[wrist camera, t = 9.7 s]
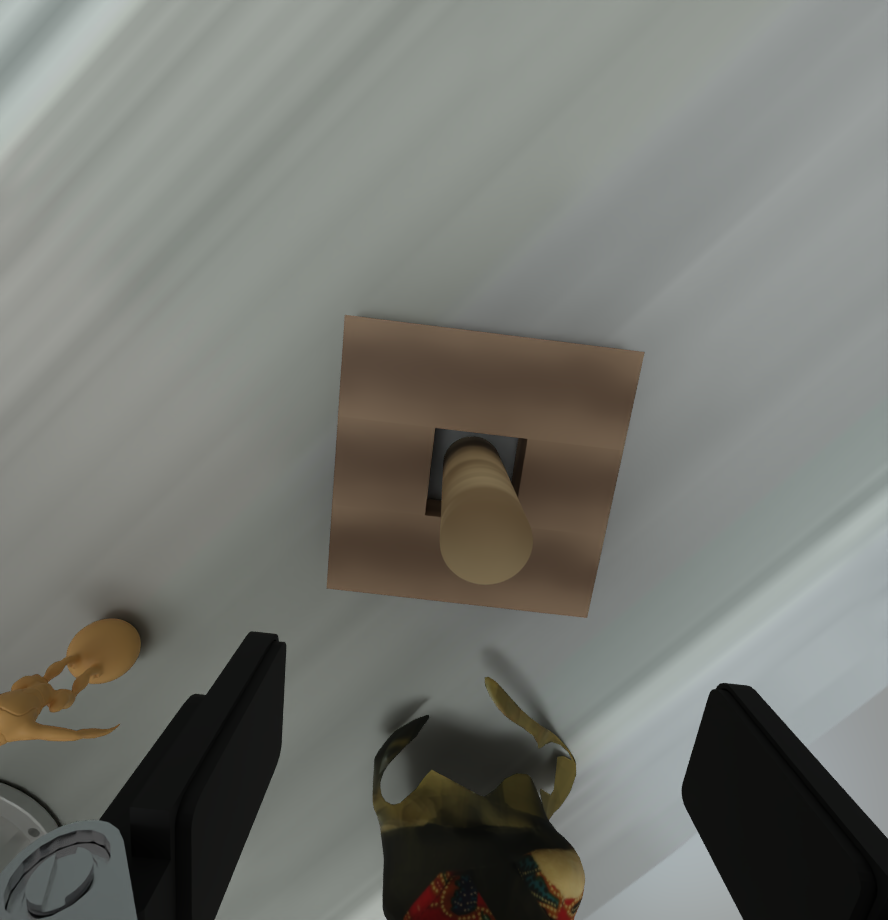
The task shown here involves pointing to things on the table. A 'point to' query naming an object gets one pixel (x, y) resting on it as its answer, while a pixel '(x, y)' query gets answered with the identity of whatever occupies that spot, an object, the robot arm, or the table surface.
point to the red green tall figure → (477, 841)
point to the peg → (481, 515)
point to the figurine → (90, 661)
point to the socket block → (480, 411)
